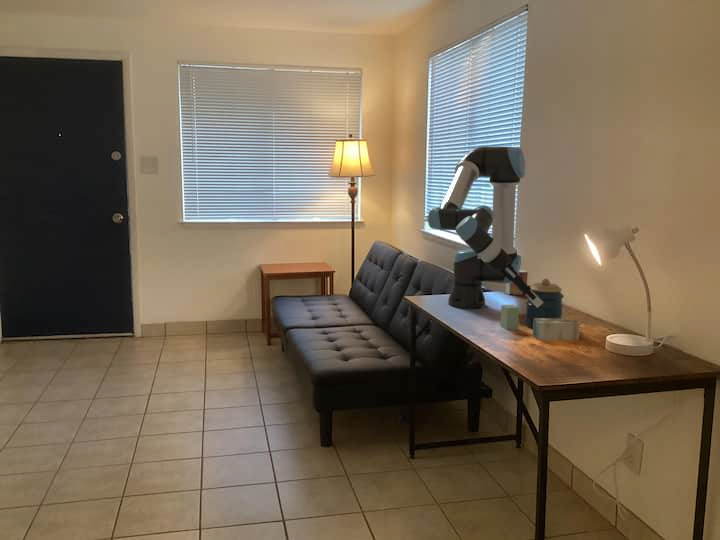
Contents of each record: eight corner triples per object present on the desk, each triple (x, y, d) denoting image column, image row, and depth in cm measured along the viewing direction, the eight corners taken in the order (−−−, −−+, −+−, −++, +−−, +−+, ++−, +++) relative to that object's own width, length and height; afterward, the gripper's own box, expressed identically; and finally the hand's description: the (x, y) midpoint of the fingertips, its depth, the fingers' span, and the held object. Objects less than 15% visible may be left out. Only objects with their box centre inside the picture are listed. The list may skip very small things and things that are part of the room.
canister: (555, 332, 223) (559, 283, 220) (519, 327, 230) (522, 279, 227) (565, 325, 233) (569, 278, 230) (531, 319, 240) (534, 274, 237)
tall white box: (533, 318, 219) (573, 318, 219) (532, 335, 220) (572, 335, 220) (538, 322, 213) (580, 323, 213) (537, 339, 214) (578, 340, 214)
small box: (509, 295, 284) (510, 271, 282) (505, 292, 289) (506, 269, 287) (526, 295, 284) (528, 271, 282) (522, 292, 290) (523, 269, 288)
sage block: (500, 326, 230) (501, 305, 229) (511, 325, 231) (512, 304, 230) (506, 329, 226) (507, 308, 224) (517, 329, 227) (518, 307, 226)
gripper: (481, 260, 218) (526, 307, 221) (488, 266, 206) (537, 317, 209) (497, 245, 218) (542, 293, 221) (506, 250, 205) (554, 301, 208)
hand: (539, 304), depth 215 cm, fingers closed
